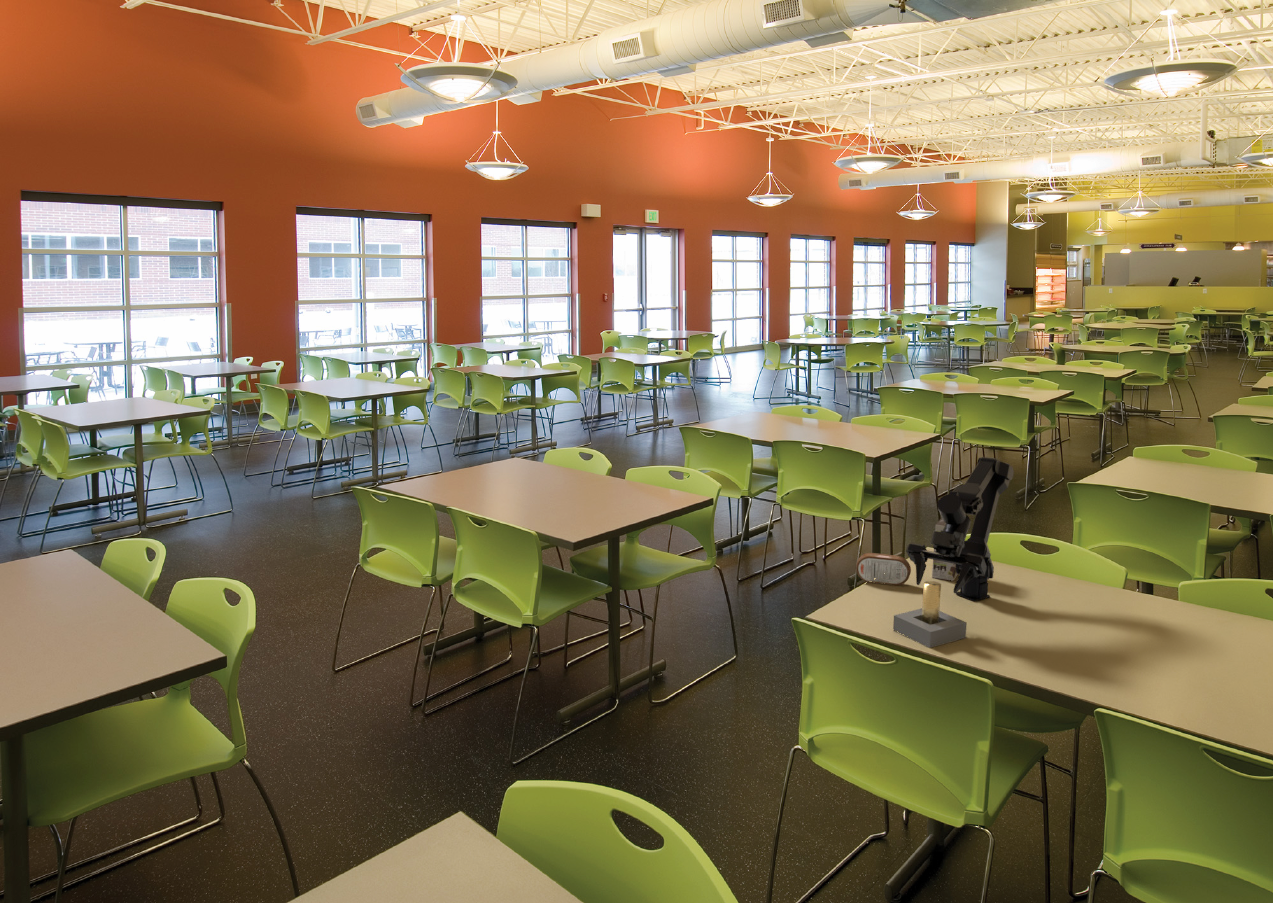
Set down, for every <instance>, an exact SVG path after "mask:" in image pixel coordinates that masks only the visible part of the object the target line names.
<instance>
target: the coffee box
mask: <svg viewBox="0 0 1273 903" xmlns="http://www.w3.org/2000/svg"><path fill="white" fill-rule="evenodd" d="M944 526H945V522H944V521H943V519H942V517H941V518H940V519H939V520H938V522H936V523H935V527H934V531H938V532H941V530H942V531H943V529H944ZM933 552H936V549H934V548H933ZM931 569H932V572H931V578H935V579H940V580H946V581H950V580H951V582H954V581H955V579H956V578H957V577H958V576H959V574H957V573H956V564H954V563H948V562H943V561H938V560H933V559H932V568H931Z"/></svg>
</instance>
